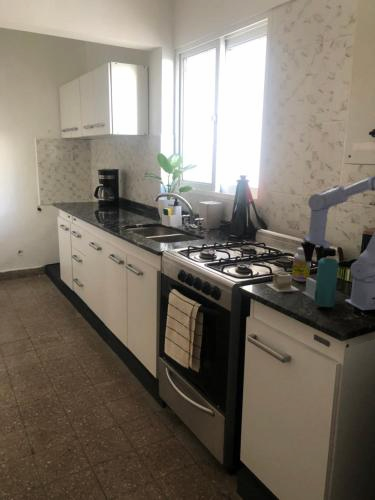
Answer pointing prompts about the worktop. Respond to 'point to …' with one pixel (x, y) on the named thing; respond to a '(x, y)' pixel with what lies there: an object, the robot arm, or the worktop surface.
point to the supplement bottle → (300, 266)
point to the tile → (282, 289)
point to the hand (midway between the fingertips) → (313, 263)
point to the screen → (310, 288)
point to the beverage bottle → (326, 279)
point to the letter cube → (282, 280)
